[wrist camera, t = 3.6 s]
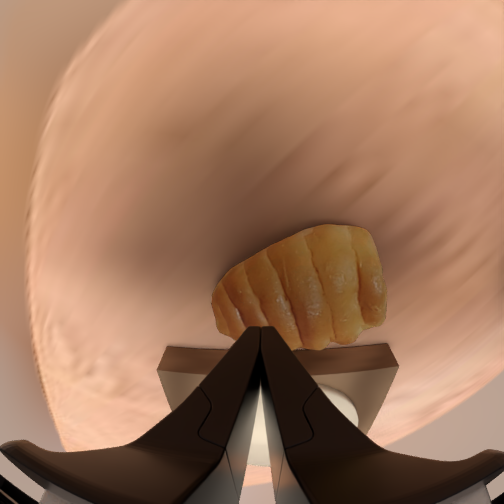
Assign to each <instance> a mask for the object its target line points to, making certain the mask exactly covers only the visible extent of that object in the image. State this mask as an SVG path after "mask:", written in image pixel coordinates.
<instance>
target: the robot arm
mask: <svg viewBox="0 0 504 504" xmlns="http://www.w3.org/2000/svg"><path fill="white" fill-rule="evenodd" d="M260 384H261V396H262V404H263V412H264V419H265V427H266V435H267V443H268V450H269V458H270V466H271V473H272V481H273V488H274V495H275V501H276V504H504V493H502V494H501V495H499V496H498V497H497V498H495V499H494V500H492V501H491V499H490V496H489V493H488V490H487V488H486V485H487V484H488V483H490V482H491V481H492V480H493V479H495V478H496V477H497V476H498V475H500V474H501V473H502V472H503V471H504V452H502V451H498V450H492V449H487V450H484V451H482V452H480V453H478V454H476V455H475V456H473V457H471V458H468V459H465V460H460V461H439V460H432V459H426V458H420V457H415V456H410V455H405V454H400V453H395V452H391V451H388V450H386V449H384V448H382V447H380V446H379V445H377V444H376V443H374V442H373V441H372V440H371V439H370V438H368V437H367V436H366V435H365V434H364V433H363V432H362V431H361V430H360V429H359V428H358V427H356V426H355V425H354V424H353V423H352V422H351V421H350V420H349V419H348V418H347V417H346V416H345V415H344V414H343V413H342V412H341V411H340V410H339V409H338V408H337V407H336V406H335V405H334V404H333V403H332V402H331V400H330V399H329V398H328V397H327V396H326V395H325V393H324V392H323V391H322V389H321V388H320V387H319V386H318V384H317V383H316V382H315V380H314V379H313V378H312V376H311V375H310V374H309V372H308V371H307V370H306V369H305V367H304V366H303V365H302V363H301V362H300V361H299V359H298V358H297V357H296V355H295V354H294V353H293V351H292V350H291V349H290V347H289V346H288V345H287V343H286V342H285V341H284V339H283V338H282V337H281V335H280V334H279V333H278V331H277V330H276V328H275V327H274V326H262V327H260V326H248V327H247V328H246V330H245V331H244V332H243V333H242V334H241V336H240V337H239V338H238V339H237V340H236V342H235V343H234V344H233V345H232V346H231V348H230V349H229V350H228V351H227V352H226V354H225V355H224V356H223V357H222V358H221V359H220V361H219V362H218V363H217V364H216V365H215V366H214V368H213V369H212V370H211V371H210V372H209V373H208V374H207V376H206V377H205V378H204V379H203V380H202V381H201V382H200V384H199V386H197V387H196V388H195V389H194V390H193V391H192V392H191V394H190V395H189V396H188V397H187V398H186V399H185V400H184V401H183V402H182V403H181V404H180V405H179V406H178V407H176V408H175V409H174V410H173V411H172V412H171V413H170V414H168V415H167V416H166V417H165V418H164V419H162V420H161V421H160V422H159V423H157V424H156V425H155V426H154V427H152V428H151V429H150V430H149V431H147V432H146V433H145V434H144V435H142V436H141V437H140V438H138V439H137V440H135V441H133V442H131V443H129V444H127V445H123V446H119V447H113V448H106V449H98V450H89V451H78V452H52V451H48V450H45V449H42V448H40V447H38V446H36V445H35V444H33V443H31V442H29V441H27V440H15V441H9V442H7V443H4V444H2V445H1V446H0V451H1V452H2V454H3V455H4V456H5V457H6V458H7V459H8V460H10V461H11V462H12V463H13V464H14V465H15V466H16V467H18V468H19V469H20V470H21V471H22V472H23V473H25V474H26V475H27V476H28V477H30V478H31V479H32V480H33V481H35V482H36V483H37V484H39V485H40V486H41V487H43V488H44V489H45V491H44V493H43V495H42V498H41V500H40V502H39V503H38V502H37V501H36V500H34V499H33V498H31V497H29V496H28V495H27V494H25V493H24V492H23V491H21V490H20V489H18V488H17V487H16V486H14V485H13V484H12V483H11V482H9V481H8V480H6V479H5V478H4V477H3V476H2V475H0V504H239V500H240V495H241V490H242V485H243V481H244V476H245V471H246V466H247V460H248V455H249V450H250V445H251V439H252V434H253V428H254V423H255V417H256V412H257V406H258V400H259V394H260Z"/></svg>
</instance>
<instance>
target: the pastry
mask: <svg viewBox="0 0 504 504" xmlns="http://www.w3.org/2000/svg"><path fill="white" fill-rule="evenodd" d="M382 273H383V269H382V266H381V263H380V259H379V256H378V252H377V249H376V245H375V244H374V241H373V238H372V236H371V234H370V233H369V232H368V231H367V230H366V229H364V228H361V227H357V226H349V225H334V224H324V225H319V226H315V227H312V228H308V229H304V230H302V231H300V232H298V233H296V234H294V235H292V236H291V237H287V238H285V239H283V240H281V241H279V242H277V243H274V244H272V245H270V246H269V247H267V248H265V249H263V250H262V251H260V252H258V253H257V254H255V255H253V256H252V257H250V258H248V259H246V260H244V261H243V262H241V263H239V264H237V265H236V266H234V267H233V268H231V269H230V270H229V271H228V272H227V273H226V274H225V275H224V277H223V278H222V279H221V280H220V281H219V283H218V284H217V286H216V288H215V290H214V292H213V294H212V303H211V304H212V308H213V312H214V315H215V318H216V325H217V328H218V330H219V332H220V333H222V334H224V335H227V336H229V337H232V338H233V339H234V340H237V339H238V338H239V337H240V336H241V334H242V333H243V332H244V331H245V330H246V328H247V327H248V326H260V327H262V326H274V327H275V328H276V330H277V331H278V333H279V334H280V335H281V337H282V338H283V339H284V341H285V342H286V343H287V345H288V346H289V347H290V349H291V350H292V351H293V350H295V349H297V348H305V349H310V350H312V349H313V350H322V349H324V348H325V347H326V346H327V345H328V344H329V343H330V342H336V343H338V344H340V345H347V344H350V343H353V342H355V340H356V339H357V337H358V336H359V335H360V333H361V332H362V331H363V330H365V329H369V328H372V327H374V326H375V327H378V326H380V325H382V323H383V322H384V320H385V317H386V307H387V289H386V285H385V282H384V279H383V276H382Z"/></svg>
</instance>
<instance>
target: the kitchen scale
mask: <svg viewBox="0 0 504 504" xmlns="http://www.w3.org/2000/svg"><path fill="white" fill-rule="evenodd" d="M227 351H228V350H210V349H192V348H179V347H167V348H166V350H165V352H164V354H163V357H162V359H161V361H160V364H159V366H158V368H157V372H158V375H159V378H160V381H161V384H162V387H163V389H164V392H165V395H166V397H167V400H168V403H169V405H170V408H171V410H172V411H173V410H174V409H175V408H176V407H178V406H179V405H180V404H181V403H182V402H183V401H184V400H185V399H186V398H187V397H188V396H189V395H190V394H191V392H192V391H193V390H194V389H195V388H196V387H197V386H199V384H200V382H201V381H202V380H203V379H204V378H205V377H206V376H207V374H208V373H209V372H210V371H211V370H212V369H213V368H214V366H215V365H216V364H217V363H218V362H219V361H220V359H221V358H222V357H223V356H224V355H225V354H226V352H227ZM293 353H294V354H295V355H296V357H297V358H298V359H299V361H300V362H301V363H302V365H303V366H304V367H305V369H306V370H307V371H308V372H309V374H310V375H311V376H312V378H313V379H314V380H315V382H316V383H317V384H318V386H319V387H320V388H321V389H322V391H323V392H324V393H325V395H326V396H327V397H328V398H329V399H330V400H331V402H332V403H333V404H334V405H335V406H336V407H337V408H338V409H339V410H340V411H341V412H342V413H343V414H344V415H345V416H346V417H347V418H348V419H349V420H350V421H351V422H352V423H353V424H354V425H355V426H356V427H358V428H359V429H360V430H361V431H362V432H363V433H364V434H365V435H367V433H368V431H369V429H370V428H371V426H372V424H373V422H374V420H375V418H376V416H377V414H378V412H379V410H380V408H381V406H382V404H383V402H384V400H385V398H386V395H387V393H388V391H389V389H390V387H391V384H392V382H393V380H394V377H395V375H396V372H397V370H398V368H399V365H398V363H397V361H396V359H395V357H394V355H393V353H392V351H391V349H390V347H389V345H388V344H379V345H370V346H360V347H348V348H334V349H322V350H293ZM247 464H248V465H255V466H266V467H271V466H270V458H269V450H268V443H267V435H266V427H265V419H264V412H263V404H262V396H261V384H260V394H259V400H258V406H257V412H256V417H255V423H254V428H253V434H252V439H251V445H250V450H249V455H248V460H247Z"/></svg>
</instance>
